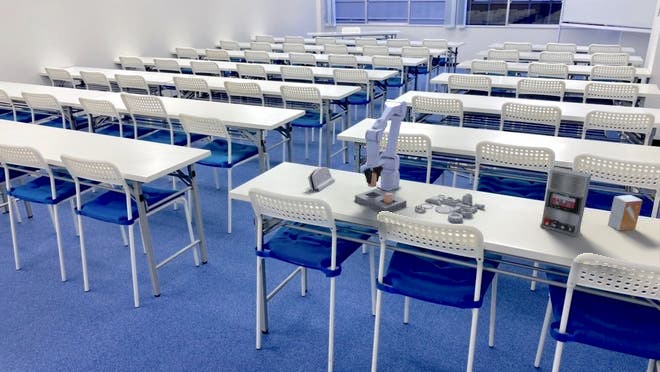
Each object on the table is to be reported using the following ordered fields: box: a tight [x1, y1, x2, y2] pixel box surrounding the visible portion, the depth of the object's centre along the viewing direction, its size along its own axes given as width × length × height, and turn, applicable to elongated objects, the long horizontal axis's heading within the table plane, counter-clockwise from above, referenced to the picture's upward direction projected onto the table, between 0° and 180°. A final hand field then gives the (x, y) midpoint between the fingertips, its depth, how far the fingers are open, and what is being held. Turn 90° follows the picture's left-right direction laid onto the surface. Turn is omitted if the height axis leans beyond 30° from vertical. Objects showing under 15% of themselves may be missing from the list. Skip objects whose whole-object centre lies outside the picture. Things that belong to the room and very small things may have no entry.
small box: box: [607, 194, 643, 232], centre depth 192 cm, size 8×6×13 cm
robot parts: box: [414, 193, 486, 223], centre depth 212 cm, size 25×25×5 cm
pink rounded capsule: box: [367, 172, 377, 188], centre depth 220 cm, size 4×4×6 cm
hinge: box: [307, 166, 336, 192], centre depth 240 cm, size 17×5×10 cm, turn 151°
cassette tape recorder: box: [539, 166, 592, 237], centre depth 188 cm, size 14×6×25 cm, turn 49°
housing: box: [354, 188, 407, 212], centre depth 219 cm, size 20×14×2 cm
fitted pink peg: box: [384, 192, 394, 205], centre depth 215 cm, size 4×4×6 cm
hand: (372, 182), depth 220 cm, fingers closed on pink rounded capsule, 4 cm apart
